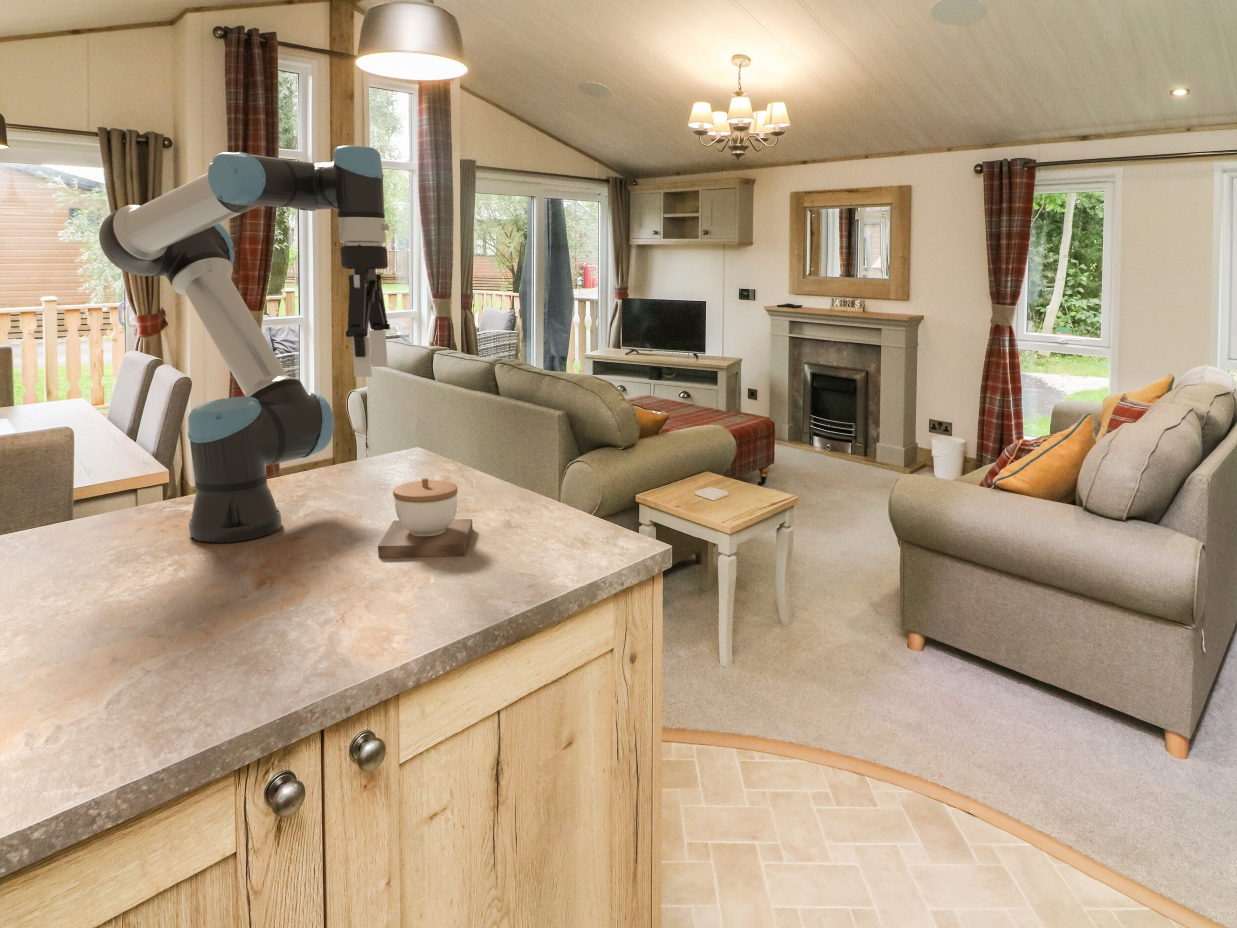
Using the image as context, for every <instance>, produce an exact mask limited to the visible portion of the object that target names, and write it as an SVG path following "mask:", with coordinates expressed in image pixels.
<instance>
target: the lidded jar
mask: <svg viewBox="0 0 1237 928" xmlns="http://www.w3.org/2000/svg"><path fill="white" fill-rule="evenodd" d="M392 496H393V500H394V507H395V513H396V516H397V519H398V520H399V521H400V523H401V524H402V525H403V526H404V527H405V528H406V529H407V530H408V531H410V534H412V535H414V536H421V537H427V536H435V535H439V534H442V533H444V532H445V531H446V528H447V527H448V526H449V525H450V524H451V523H452V521H453V519H455V516H456V514H457V509H458V486H457V485H456V484H455V483H454V482H450V481H446V480H437V479H436V480H435V479H434V480H432V479H429V478H427V477H423V478H421V480H416V481H414V480H413V481H410V482H405V483H402V484H399V485H396V487H394V488H393V491H392Z"/></svg>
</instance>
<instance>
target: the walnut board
mask: <svg viewBox="0 0 1237 928" xmlns="http://www.w3.org/2000/svg"><path fill="white" fill-rule="evenodd" d="M473 528H474V526H473V518H456V519H455V518H454V519H453V521H452V523H451V524H450V525H449V526H448V527H447V528H446V531H445V532H444V533H442V534H439V535H435V536H427V537H421V536H414V535H412V534H410V531H408V530H407V529H406V528H405V527H404V526H403V525H402V524H401V523H400V521H399V519H398V520H396V519H395V520H393V521H392V522H391V524H390V525H389V527H388V529H387V530H386V532H385V533H384V535H383V537H382V538H381V540H380V542H379V543H378V545H377V552H378V558H379V559H380V558H422V557H425V558H426V557H427V558H428V557H461V556H462V557H465V556H466V553H467V549H468V547H469V543H470V540H471V537H472V533H473V530H474V529H473Z"/></svg>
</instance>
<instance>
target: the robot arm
mask: <svg viewBox="0 0 1237 928" xmlns="http://www.w3.org/2000/svg"><path fill="white" fill-rule="evenodd" d="M259 207H278V208H289V209H290V208H292V209H295V210H301V211H310V212H312V211H313V212H314V211H317V210H319V211H320V210H332V209H334V210H335V209H337V220H338V224H337V226H338V238H339V242H340V243H343V244H342V245H343V246H341V248H340V263H341V267H342V268H343V269H345V270H354V271H353V272H354V273H353V274H349V275H348V283H349V284H348V285H349V287H348V289H349V290H348V293H349V294H348V314H347V329H346V330H345V337H346V338H351V348H352V363H353V365H352V366H353V375H354V376H353V377H354V378H365V377H367V378H368V377H370V378H371V377H372V376H373V373H372V372H373V371H372V370H373V369H372V368H373V367H374V368H376V367H377V368H383V367H385V368H387V367H388V364H389V363H388V352H387V351H388V350H387V349H388V348H387V334H386V333H387V332H386V331H388V330H391V329H390V328H391V325H390V323H388V319H387V318H388V317H387V313H386V311H387V310H386V306H385V299H384V293H383V287H382V286H383V285H382V275H381V274H380V273H376V272H377V271H376V270H386V269H387V268H388V267H389V263H388V262H389V261H388V260H389V259H388V248H386V246H383V244H385V243H386V242H387V236H386V235H387V234H386V233H387V232H386V231H389V229H390V226H389V224H386V221H385V220H386V219H385V218H386V216H385V214H386V213H385V199H384V173H383V167H382V158H381V154H380V152H379V151H378V150H377V149H376V148H373V147H371V146H370V147H369V146H364V145H363V146H362V145H341V146H337V147H335V148H334V149H333V157H332V161H330V162H329V161H328V162H309V161H301V160H293V159H287V158H279V157H278V158H277V157H270V156H263V155H256V154H249V153H246V152H241V151H238V152H221V153H218V154H215V155H214V156H213V158H212V162H211V163H209V166H208V170H207V173H205V174H203V175H200V176H199V177H196V178H195V179H192V180H190V181H189V182H186V183H185V184H182V185H181V186H179V187H176V188H175V189H172V190H170V191H168V192H166V193H164V194H162V195H160V196H158V197H155V198H154V199H152V200H150V201H148V202H146V203H144V204H142V205H139V204H129V205H125V206H122V207H121V208H119V209H117V210H115V211H113V212H111V213H110V214H109V215H108V216H107V217H106V218H105V219H104V220H103V222H102V223H101V225H100V229H99V230H98V232H99V233H98V238H99V239H98V240H99V245H100V248H101V250H102V252H103V255H105V256H106V258H107V259H108V260H109V262H110V263H111V264H113V265H114V266H115V267H117V268H118V269H120V270H122V271H124V272H126V273H129V274H132V275H136V276H142V277H165V278H166V279H167V280H168V282H169V284H170V286H171V287H172V289H173V290H174V291H175V292H176V293H177V294H178V295H181V296H186V297H187V298H188V299H189V301H190V303H191V305H192V306H193V308H194V311H196V314H197V316H198V317H199V319H200V320H201V323H202V324H203V326H204V327H205V329H206V331H207V332H208V334H209V336H210V338H211V340H212V341H213V344H215V346H216V349H217V350H218V351H219V353H220V355H221V356H222V359H223V361H224V362H225V364H226V365H227V367H228V369H229V370H230V372H231V374H232V376H233V377H234V379H235V381H236V383H237V385H238V386H239V388H240V390H241V391H242V393H243V395H244V396H233V397H232V396H231V397H228V398H225V397H223V398H219V399H214V400H211V401H207V402H204V403H201V404H199V405H197V406H195V407H194V408H193V409H192V410H191V411H190V413H189V414H188V418H187V420H188V421H187V422H188V423H187V424H188V426H187V428H188V432H187V437H188V441H189V443H190V445H189V446H190V451H191V452H190V453H191V461H192V468H193V469H192V470H193V471H192V472H193V476H194V485H195V486H194V487H195V497H194V501H193V507H192V515H191V518H190V519H189V520H188V521H189V522H188V529H189V537H190V536H191V537H193V538H194V539H197V540H200V541H199V542H201V541H205V542H204V543H209V542H217V543H219V544H224V542H225V544H227V543H236V542H237V541H238V542H243V541H249V540H250V541H251V540H255V539H258V538H262V537H265V536H268V535H271V534H273V533H275V532H277V531H278V530H279V529H281V528H282V525H283V524H282V515H281V512H280V509H279V508H278V507H277V504H276V502H275V499H274V497H273V495H272V493H271V490H270V487H269V486H268V480H267V479H268V477H267V466H272V465H277V464H279V463H284V462H288V461H293V460H296V459H303V458H308V457H310V456H311V455H315V454H317V453H320V452H322V451H324V450H325V449H326V448H327V447H328V445H329V444H330V443H331V440H332V438H333V434H334V427H335V419H334V413H333V411H332V407H331V406H330V403H329V402H328V400H327V399H326V398H325V397H324V396H322V395H321V394H317V393H314V392H309V393H308V392H307V390H306V388H305V386H304V385H303V383H302V381H301V380H300V379H299V378H297V377H293V376H289V375H288V374H287V372H286V371H285V369H284V367H283V366H282V364H281V362H280V361H279V359H278V357H277V355H276V354H275V352H274V351H273V348H272V346H271V345H270V343H269V342H268V340H267V339H266V336H265V335H264V333H263V332H262V331H263V330H262V329H261V327H259V324H258V323H257V321H256V320H255V318H254V316H253V314H252V313H251V311H250V308H249V307H248V306H247V304H246V302H245V300H244V298H243V297H242V295H241V294H240V292H239V290H238V289H237V287H236V285H235V284H234V282H233V280H232V278H231V276H232V275H233V272H234V267H233V265H234V262H235V251H233V249H232V248H234V242H233V240H232V237H231V236H230V234H229V232H228V230H227V229H226V228H225V227H224V226H223V225H222V223H224V222H225V221H227V220H228V221H229V220H230V219H233V218H234V217H237V216H239V215H242V214H244V213H246V212H249V211H250V210H253V209H255V208H259ZM369 327H370V330H369ZM368 334H369V336H368ZM191 537H190V538H191ZM194 539H193V540H194ZM197 540H196V541H197ZM217 543H216V544H217Z"/></svg>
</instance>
